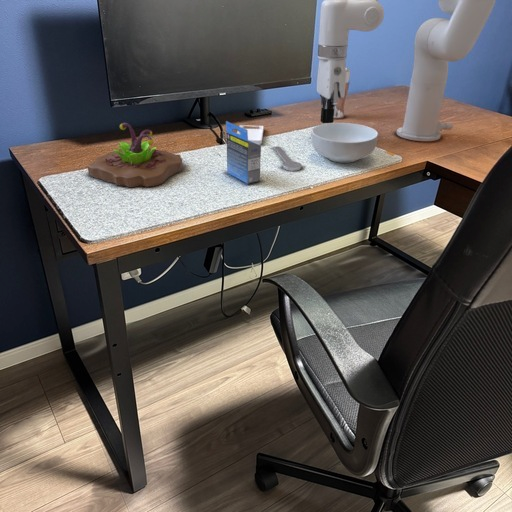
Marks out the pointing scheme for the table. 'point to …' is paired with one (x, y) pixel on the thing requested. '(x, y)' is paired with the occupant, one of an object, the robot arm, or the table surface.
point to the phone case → (254, 134)
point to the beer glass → (340, 106)
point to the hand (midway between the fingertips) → (326, 122)
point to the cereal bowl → (344, 141)
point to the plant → (136, 163)
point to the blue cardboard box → (242, 155)
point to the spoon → (287, 161)
